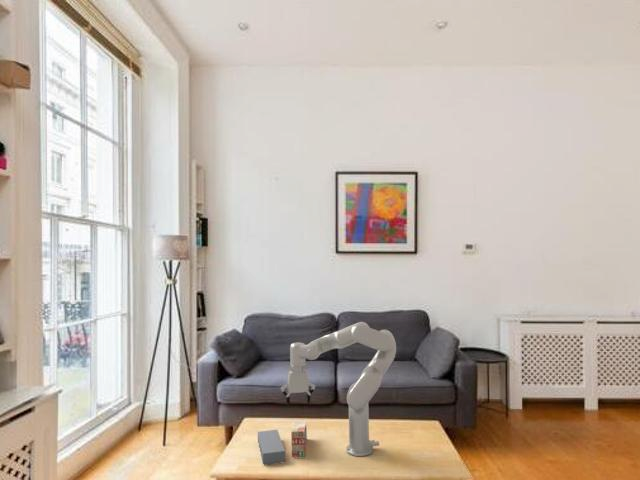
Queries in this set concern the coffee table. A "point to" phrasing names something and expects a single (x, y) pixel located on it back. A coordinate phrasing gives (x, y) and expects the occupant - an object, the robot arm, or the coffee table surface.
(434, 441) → the coffee table surface
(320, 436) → the coffee table surface
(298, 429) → the stack of blocks
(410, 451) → the coffee table surface
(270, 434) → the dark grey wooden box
